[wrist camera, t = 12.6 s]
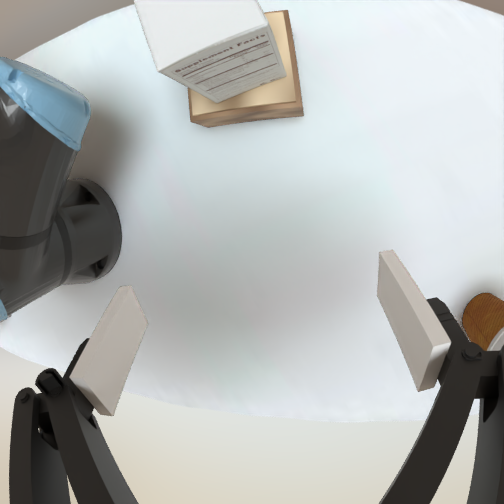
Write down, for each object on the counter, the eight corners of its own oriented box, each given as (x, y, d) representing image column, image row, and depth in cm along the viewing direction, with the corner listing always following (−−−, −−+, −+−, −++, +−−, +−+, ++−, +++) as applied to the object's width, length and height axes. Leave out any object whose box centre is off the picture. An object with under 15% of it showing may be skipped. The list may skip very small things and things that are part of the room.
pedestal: (208, 127, 34) (188, 121, 28) (200, 45, 31) (181, 27, 26) (303, 116, 32) (302, 105, 26) (291, 30, 29) (287, 7, 23)
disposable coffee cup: (514, 308, 32) (556, 349, 21) (470, 354, 35) (502, 405, 24) (488, 267, 32) (537, 303, 21) (440, 318, 35) (475, 370, 24)
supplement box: (193, 46, 26) (129, -6, 14) (261, 18, 24) (230, -54, 12) (216, 106, 28) (153, 74, 16) (289, 78, 26) (271, 22, 14)
